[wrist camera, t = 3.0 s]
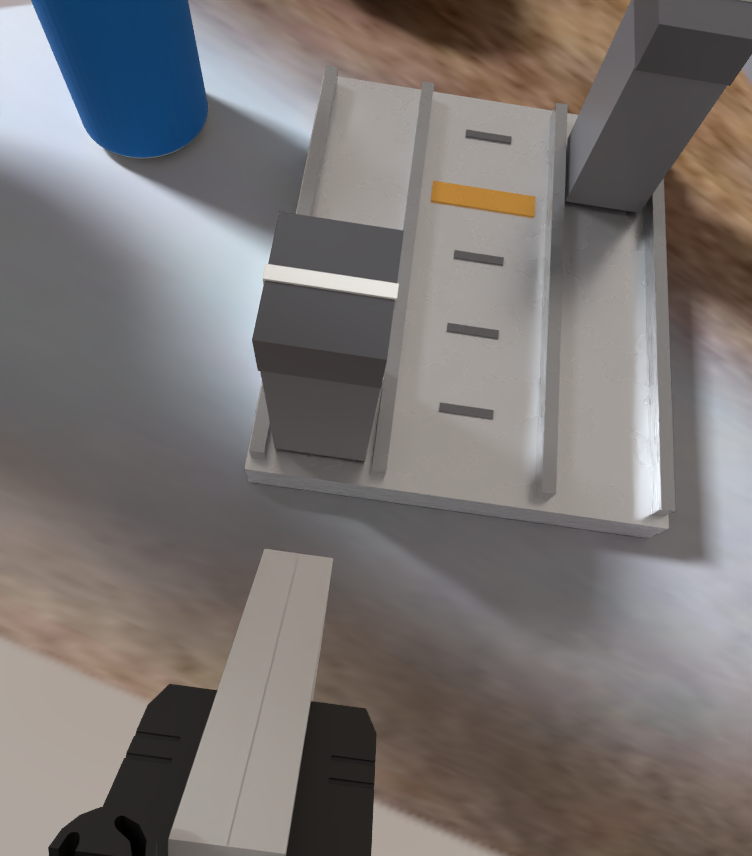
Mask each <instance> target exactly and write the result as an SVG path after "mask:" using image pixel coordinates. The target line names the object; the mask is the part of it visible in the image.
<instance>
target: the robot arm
mask: <svg viewBox="0 0 752 856" xmlns="http://www.w3.org/2000/svg"><path fill="white" fill-rule="evenodd" d="M332 565H333V558H328V557H321V556H314V555H307V554H300V553H293V552H285V551H278V550H271V549H264V551H263V554H262V557H261V561H260V564H259V567H258V570H257V573H256V576H255V579H254V582H253V585H252V588H251V591H250V594H249V597H248V600H247V603H246V606H245V609H244V612H243V615H242V618H241V621H240V624H239V627H238V630H237V633H236V636H235V639H234V642H233V645H232V648H231V651H230V654H229V657H228V660H227V663H226V666H225V669H224V672H223V675H222V678H221V681H220V684H219V687H218V690H210V689H203V688H196V687H188V686H181V685H173V684H169V685H168V686H167V687H166V688H165V689H164V690H163V691H162V692H161V693H160V694H159V695H158V696H157V697H156V698H155V699H153V700H152V701H151V702H150V703H149V704H148V706H147V708H146V710H145V713H144V715H143V717H142V719H141V722H140V724H139V726H138V728H137V731H136V735H135V736H134V737H133V740H132V742H131V744H130V746H129V749H128V751H127V754H126V758H124V760H123V762H122V764H121V767H120V769H119V771H118V773H117V776H116V778H115V780H114V782H113V785H112V787H111V789H110V791H109V794H108V796H107V798H106V800H105V803H104V805H103V807H100V808H97V809H94V810H92V811H89V812H87V813H84V814H81V815H79V816H78V817H77V818H75V819H74V820H73V821H71V822H70V823H69V824H68V825H66V826H65V827H64V828H62V829H61V831H60V832H59V833H58V835H57V836H56V838H55V839H54V841H53V842H52V843H51V845H50V846H49V847H48V849H49V856H371V845H372V823H373V800H374V777H375V754H376V732H375V729H374V727H373V724H372V722H371V720H370V717H369V715H368V712H367V710H366V709H365V708H357V707H350V706H342V705H335V704H328V703H320V702H313V696H314V689H315V683H316V677H317V670H318V664H319V658H320V651H321V644H322V636H323V629H324V622H325V615H326V608H327V600H328V593H329V586H330V579H331V572H332Z"/></svg>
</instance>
